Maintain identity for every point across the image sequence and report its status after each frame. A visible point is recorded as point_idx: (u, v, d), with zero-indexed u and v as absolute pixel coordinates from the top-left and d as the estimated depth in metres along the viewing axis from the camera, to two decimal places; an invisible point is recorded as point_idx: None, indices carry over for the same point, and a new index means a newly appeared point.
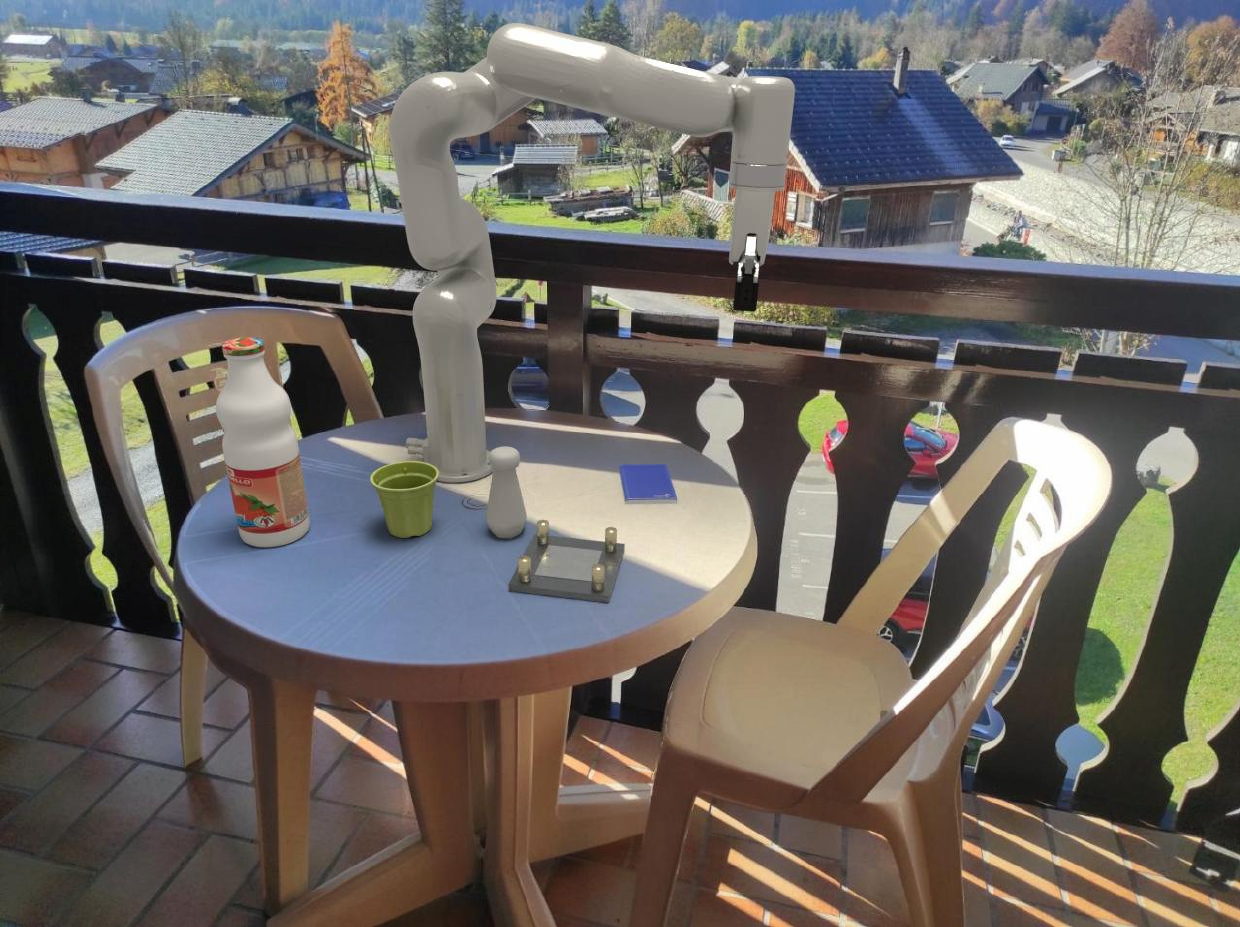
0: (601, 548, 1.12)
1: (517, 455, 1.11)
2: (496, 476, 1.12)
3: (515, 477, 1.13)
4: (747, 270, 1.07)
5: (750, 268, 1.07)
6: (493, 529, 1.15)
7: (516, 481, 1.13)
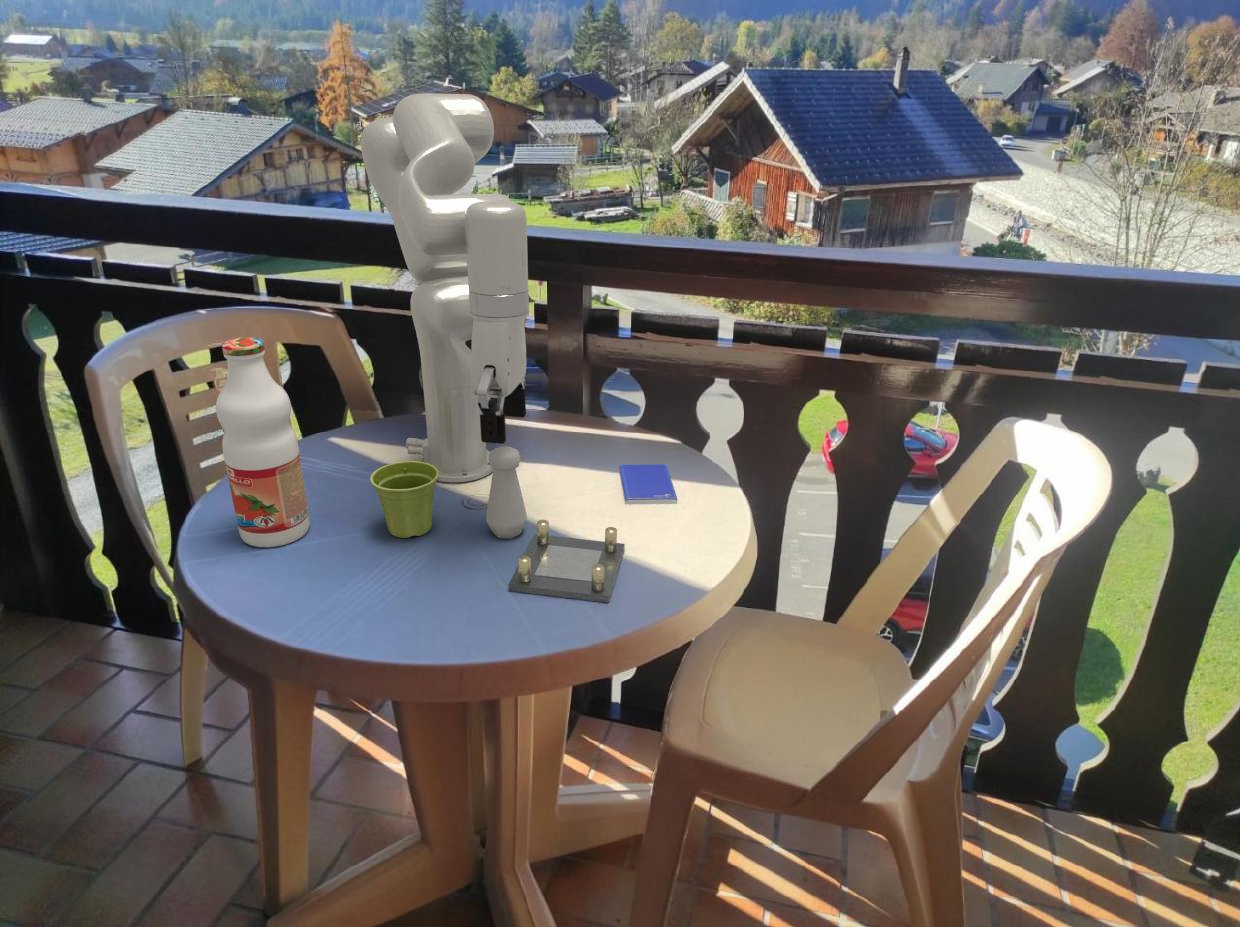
0: (601, 548, 1.12)
1: (517, 455, 1.11)
2: (496, 476, 1.12)
3: (515, 477, 1.13)
4: (483, 405, 1.00)
5: (485, 403, 1.00)
6: (493, 529, 1.15)
7: (516, 481, 1.13)
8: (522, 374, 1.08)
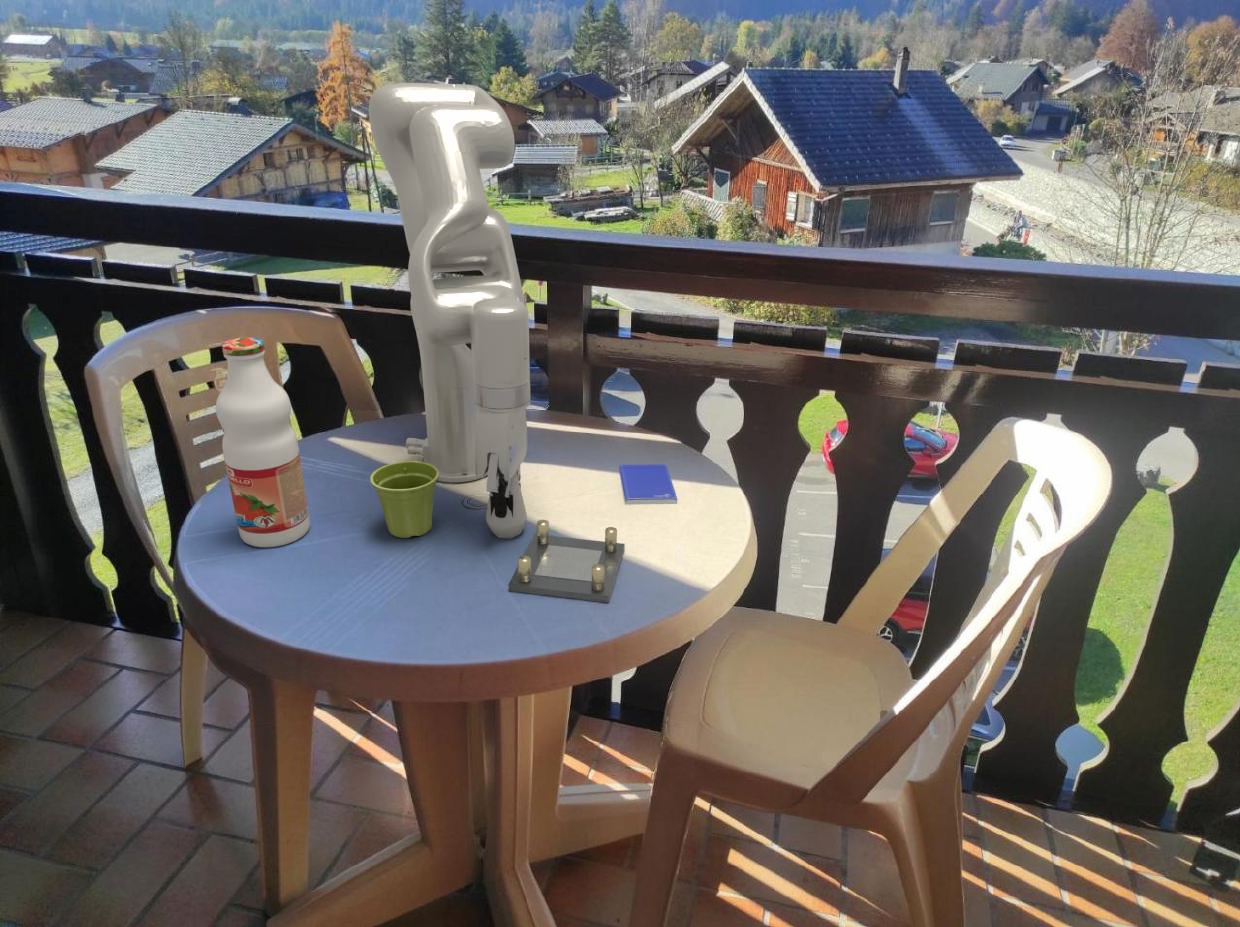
0: (601, 548, 1.12)
1: None
2: None
3: (515, 477, 1.13)
4: None
5: None
6: (493, 529, 1.15)
7: (516, 481, 1.13)
8: (523, 455, 1.14)
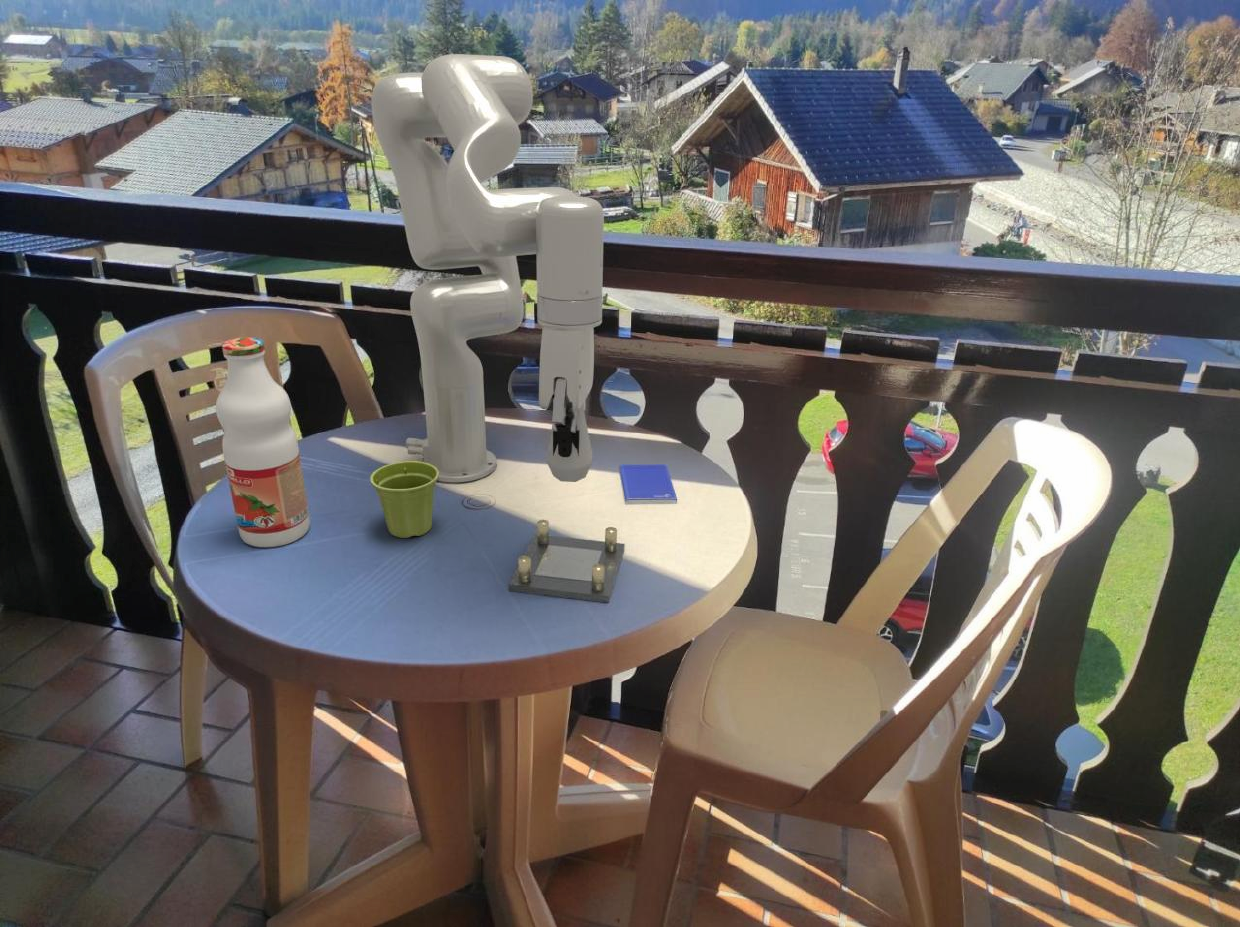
0: (601, 548, 1.12)
1: None
2: None
3: (582, 410, 0.98)
4: (560, 425, 0.95)
5: (562, 425, 0.94)
6: (555, 471, 1.00)
7: (583, 414, 0.98)
8: (590, 385, 0.99)
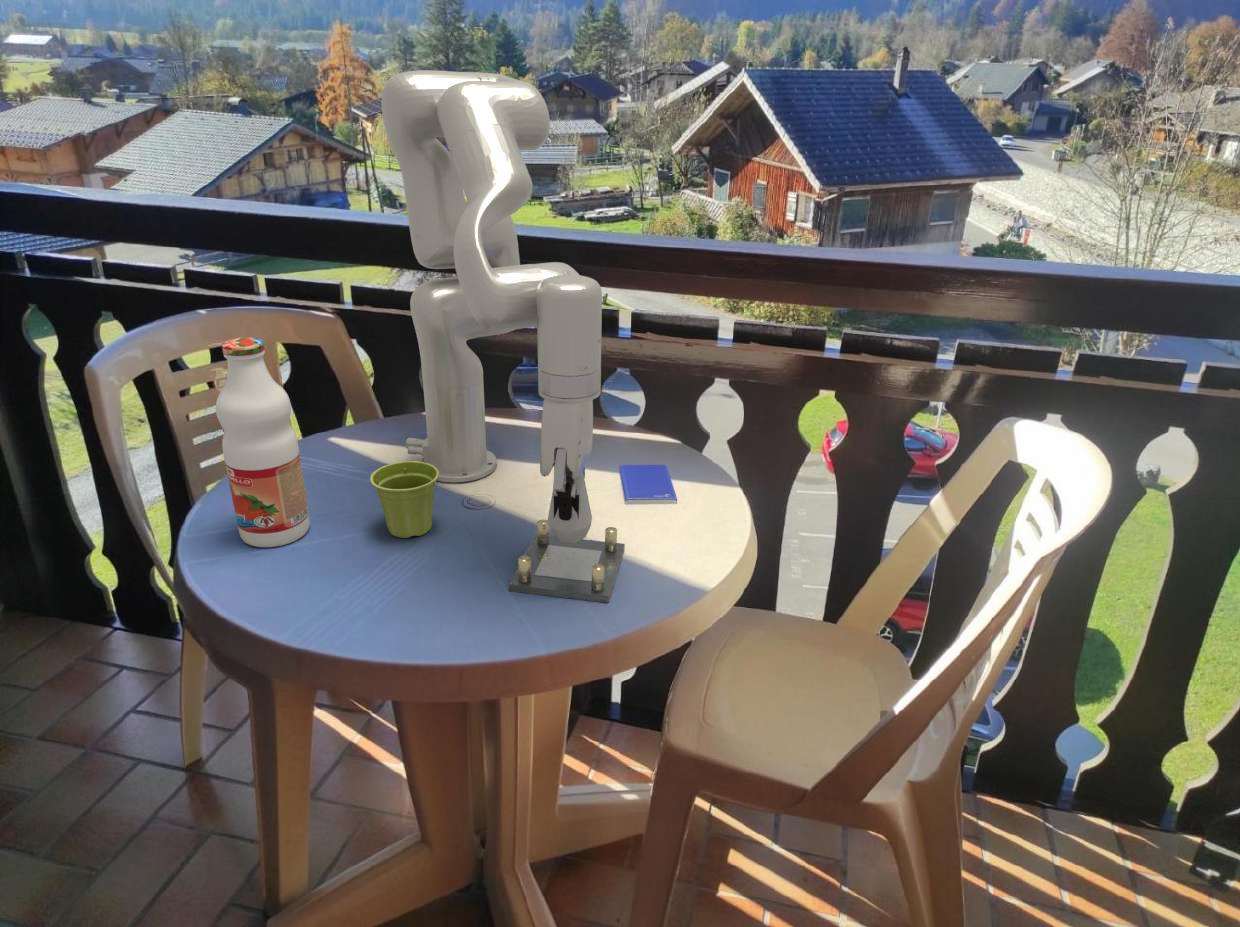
0: (601, 548, 1.12)
1: None
2: None
3: (581, 475, 1.02)
4: None
5: None
6: (556, 533, 1.04)
7: (582, 479, 1.02)
8: (589, 450, 1.03)
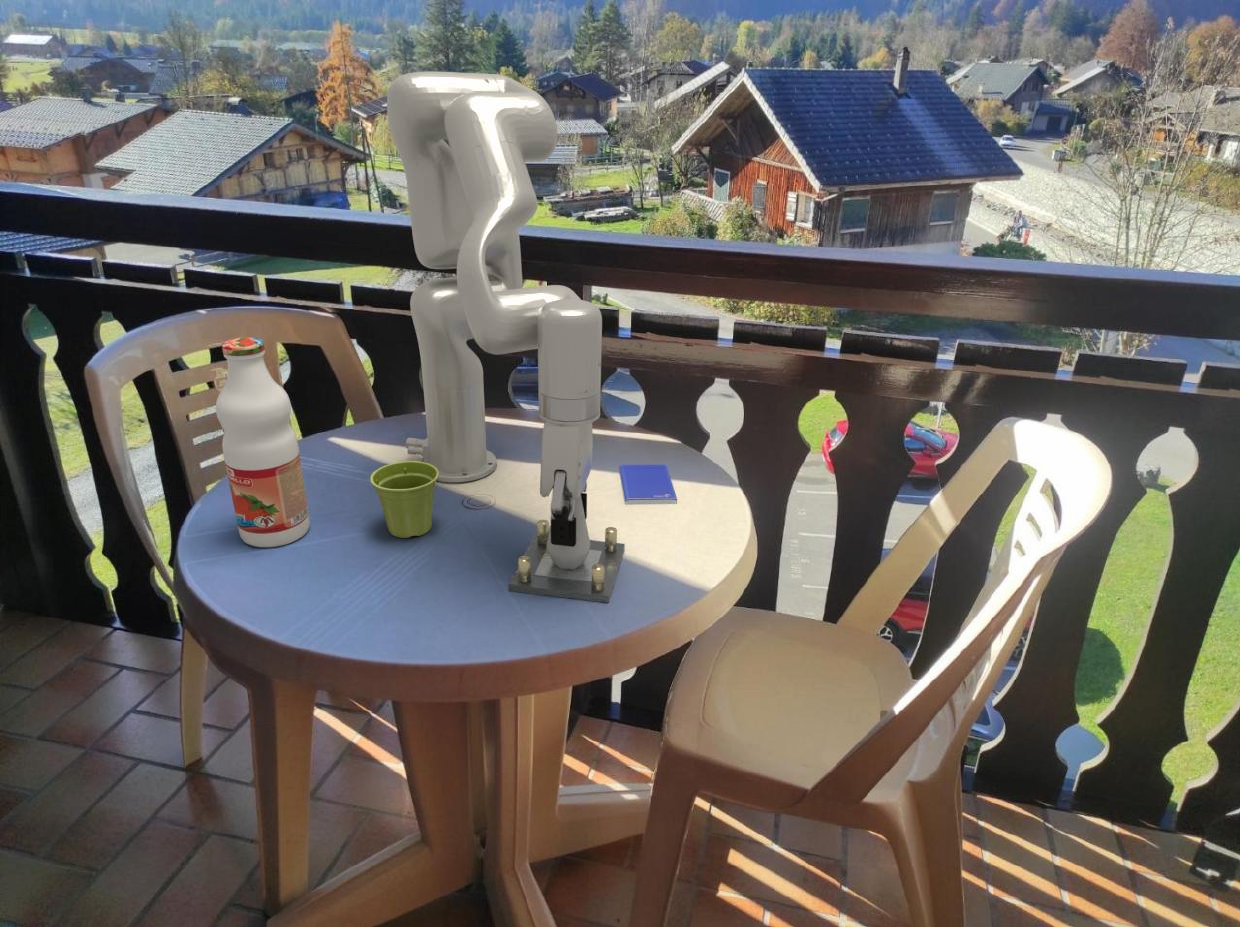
0: (601, 548, 1.12)
1: None
2: None
3: (580, 503, 1.04)
4: (557, 514, 0.98)
5: (559, 514, 0.98)
6: (555, 559, 1.06)
7: (581, 507, 1.04)
8: (589, 470, 1.04)
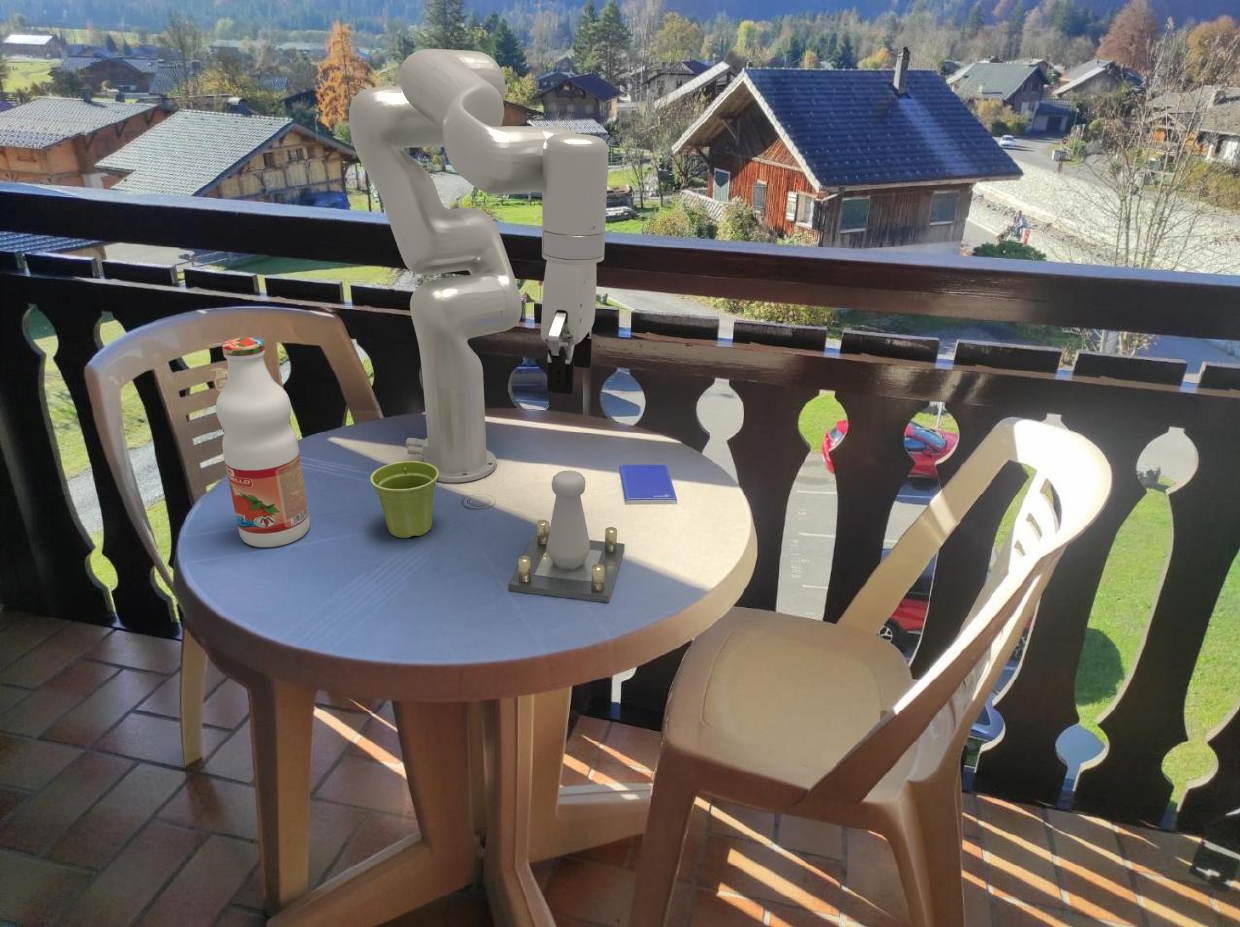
0: (601, 548, 1.12)
1: (583, 480, 1.03)
2: (559, 503, 1.03)
3: (580, 504, 1.04)
4: (554, 352, 0.95)
5: (556, 350, 0.95)
6: (555, 560, 1.06)
7: (581, 508, 1.04)
8: (591, 322, 1.03)
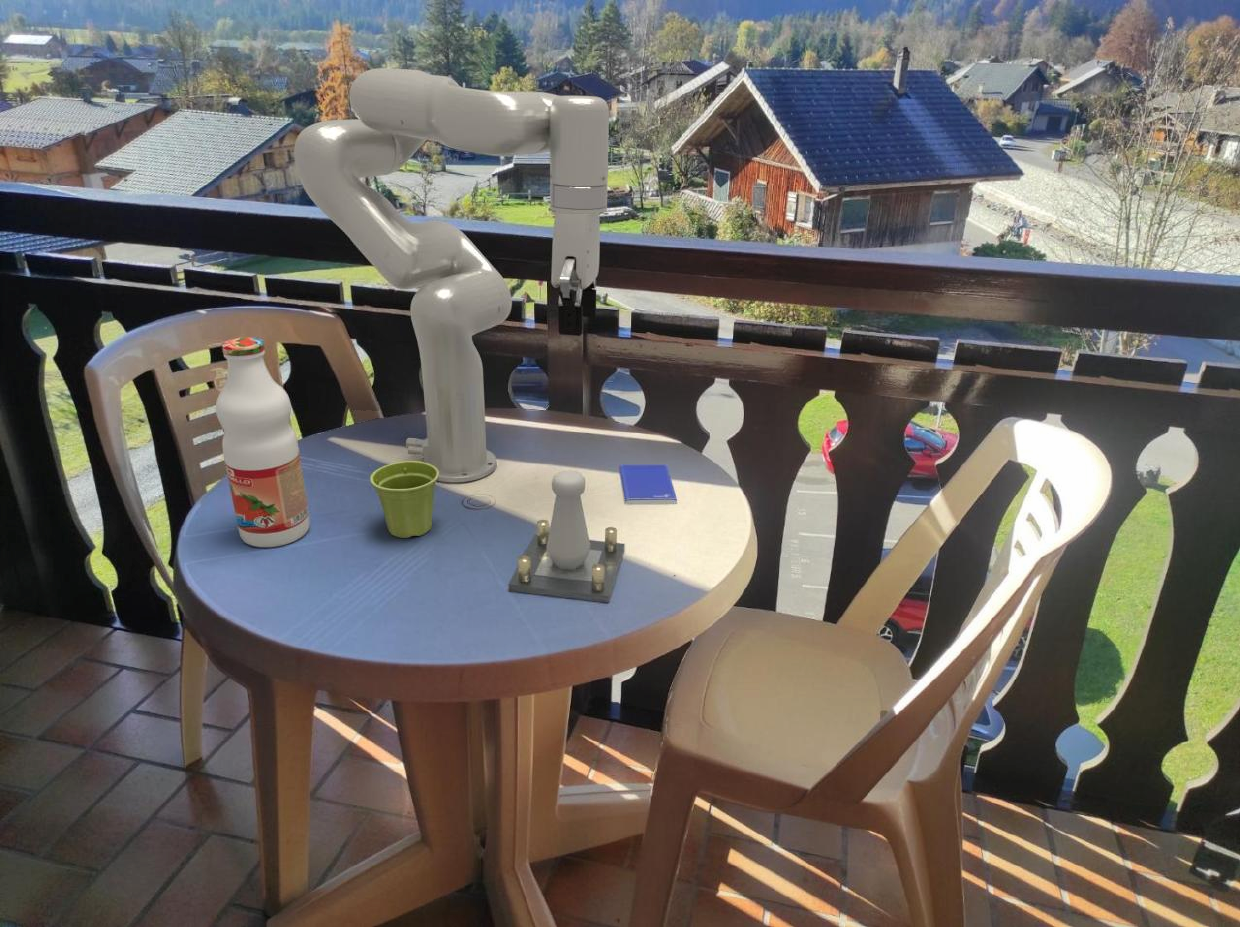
0: (601, 548, 1.12)
1: (583, 480, 1.03)
2: (559, 503, 1.03)
3: (580, 504, 1.04)
4: (564, 294, 1.04)
5: (567, 292, 1.04)
6: (555, 560, 1.06)
7: (581, 508, 1.04)
8: (596, 271, 1.12)
